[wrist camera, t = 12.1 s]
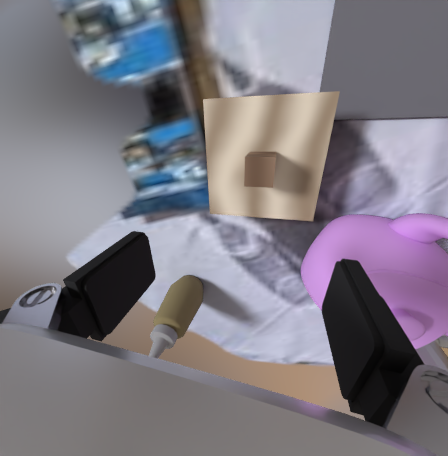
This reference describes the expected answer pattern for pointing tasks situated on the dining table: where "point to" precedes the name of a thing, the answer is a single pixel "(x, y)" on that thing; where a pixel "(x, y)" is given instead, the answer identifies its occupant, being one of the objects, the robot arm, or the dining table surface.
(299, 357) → the dining table surface
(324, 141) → the lid
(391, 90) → the mat
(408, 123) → the dining table surface
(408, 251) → the teapot
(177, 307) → the squeeze bottle
